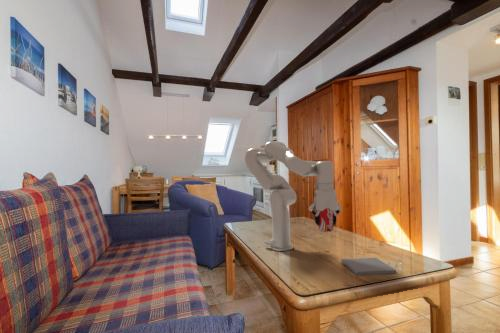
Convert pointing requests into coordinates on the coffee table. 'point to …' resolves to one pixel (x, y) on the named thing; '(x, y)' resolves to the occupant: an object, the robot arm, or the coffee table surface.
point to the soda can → (326, 220)
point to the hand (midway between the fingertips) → (325, 223)
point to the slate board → (367, 266)
